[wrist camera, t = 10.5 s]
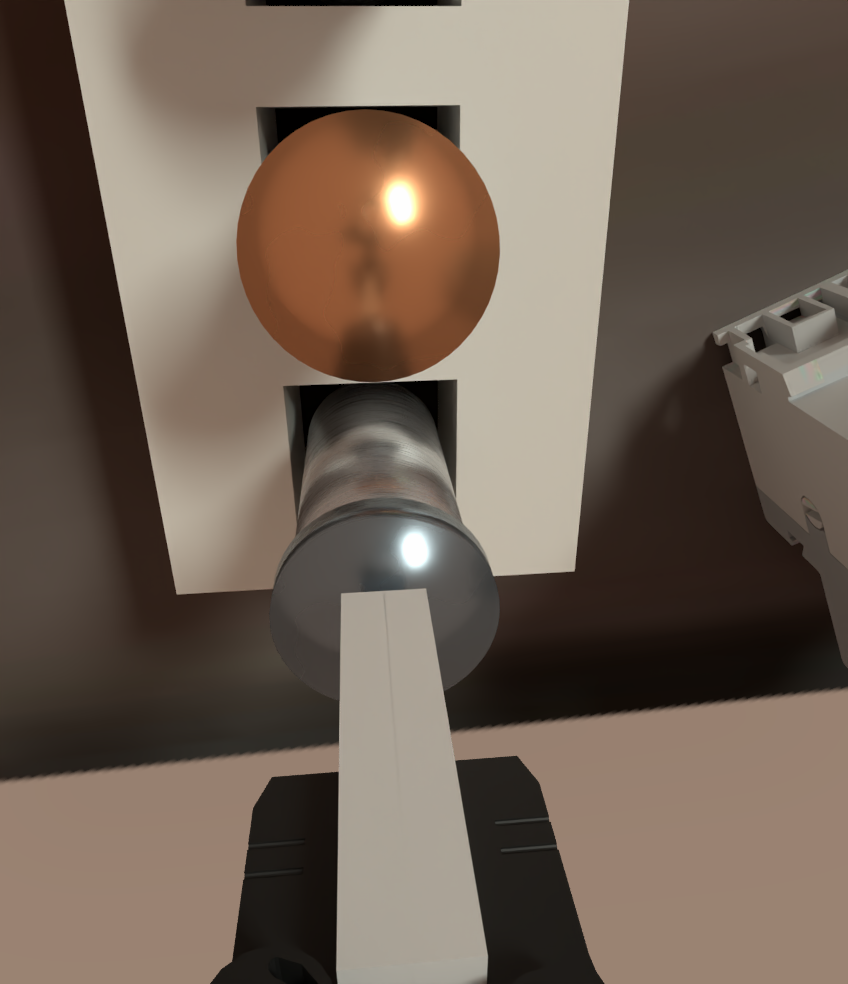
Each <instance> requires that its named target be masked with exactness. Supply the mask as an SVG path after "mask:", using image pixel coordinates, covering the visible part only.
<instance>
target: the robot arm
mask: <svg viewBox="0 0 848 984" xmlns="http://www.w3.org/2000/svg"><path fill="white" fill-rule="evenodd" d="M248 844H249V848H248V850H247V857H246V865H245V872H244V873H245V878H244V880H243V886H242V894H241V901H240V908H239V916H238V923H237V930H236V938H235V945H234V952H233V960H232V962H231V963H230V964H228V965H227V966H225V967H224V968H222V969H221V970H220V972H219V973H218V974H217V975H216V977H215V978H214V979H213V981H212V982H211V983H210V984H604V982H603V981H602V979H601V978H600V976H599V975H598V974H597V972H596V970H595V968H594V965H593V963H592V960H591V958H590V956H589V953H588V950H587V946H586V943H585V939H584V936H583V932H582V929H581V925H580V922H579V919H578V915H577V912H576V908H575V905H574V902H573V898H572V894H571V891H570V888H569V884H568V881H567V877H566V874H565V870H564V867H563V863H562V860H561V856H560V853H559V850H557V845H556V839H555V836H554V832H553V829H552V825H551V822H549V815H548V812H547V808H546V805H545V801H544V798H543V794H542V791H541V787H540V784H539V782H538V781H537V780H536V778H535V777H534V776H533V775H532V774H531V772H530V771H529V770H528V769H527V767H526V766H525V765H524V764H523V763H522V761H521V760H520V759H519V758H518V757H517V756H511V757H510V756H509V757H496V758H484V759H472V760H471V759H470V760H458V761H455V758H454V752H453V746H452V740H451V734H450V728H449V722H448V716H447V710H446V704H445V698H444V692H443V686H442V680H441V674H440V669H439V663H438V657H437V651H436V645H435V639H434V633H433V627H432V621H431V615H430V609H429V603H428V597H427V591H426V588H424V589H407V590H391V591H374V592H357V593H341V644H340V724H339V772H331V773H318V774H306V775H293V776H280V777H272V778H271V780H270V781H269V783H268V785H267V786H266V788H265V790H264V792H263V793H262V795H261V796H260V798H259V799H258V801H257V803H256V804H255V806H254V808H253V813H252V821H251V828H250V835H249V842H248Z"/></svg>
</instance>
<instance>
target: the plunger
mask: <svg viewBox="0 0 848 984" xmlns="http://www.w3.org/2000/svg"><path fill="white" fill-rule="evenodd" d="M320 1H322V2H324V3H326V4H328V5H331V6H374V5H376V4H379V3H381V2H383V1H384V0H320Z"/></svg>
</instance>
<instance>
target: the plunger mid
mask: <svg viewBox="0 0 848 984" xmlns="http://www.w3.org/2000/svg"><path fill="white" fill-rule="evenodd" d="M236 245H237V261H238V267H239V272H240V278H241V281H242V284H243V287H244V290H245V293H246V296H247V298H248V300H249V302H250V305H251V307H252V309H253V311H254V313H255V314H256V316H257V317H258V319H259V321H260V322H261V324H262V325H263V327H264V328H265V329H266V330H267V332H268V333H269V334H270V335H271V337H272V338H273V339H274V340H275V341H276V342H277V343H278V344H279V345H280V346H281V347H282V348H283V349H284V350H285V351H287V352H288V353H289V354H291V355H292V356H293V357H295V358H296V359H297V360H299V361H300V362H302V363H304V364H306V365H307V366H309V367H311V368H313V369H315V370H317V371H320V372H322V373H324V374H327V375H330V376H333V377H337V378H340V379H344V380H350V381H357V382H383V381H392V380H396V379H401V378H405V377H408V376H411V375H414V374H417V373H419V372H422V371H424V370H426V369H428V368H430V367H432V366H434V365H435V364H437V363H438V362H440V361H441V360H443V359H444V358H446V357H447V356H449V355H450V354H451V353H452V352H453V351H454V350H455V349H457V348H458V347H459V346H460V345H461V344H462V343H463V342H464V341H465V339H466V338H467V337H468V336H469V335H470V334H471V333H472V331H473V330H474V328H475V327H476V325H477V324H478V322H479V321H480V319H481V318H482V316H483V314H484V312H485V310H486V308H487V306H488V304H489V301H490V299H491V296H492V293H493V290H494V287H495V283H496V279H497V274H498V268H499V258H500V236H499V229H498V223H497V217H496V214H495V210H494V207H493V203H492V200H491V198H490V195H489V193H488V191H487V188H486V186H485V184H484V182H483V180H482V179H481V177H480V175H479V174H478V172H477V170H476V169H475V167H474V166H473V165H472V163H471V162H470V161H469V160H468V158H467V157H466V156H465V155H464V153H463V152H462V151H461V150H459V149H458V148H457V147H456V146H455V145H454V144H453V143H452V142H451V141H450V140H449V139H447V138H446V137H445V136H443V135H442V134H441V133H439V132H438V131H436V130H435V129H433V128H431V127H429V126H428V125H426V124H424V123H422V122H420V121H418V120H415V119H413V118H410V117H407V116H404V115H402V114H397V113H392V112H388V111H383V110H367V109H363V110H351V111H343V112H339V113H335V114H331V115H327V116H324V117H322V118H319V119H317V120H314V121H312V122H310V123H308V124H306V125H304V126H303V127H301V128H299V129H298V130H296V131H294V132H293V133H292V134H290V135H289V136H288V137H287V138H285V139H284V140H283V141H282V142H280V143H279V144H278V145H277V146H276V147H275V148H274V149H273V151H272V152H271V153H270V154H269V155H268V156H267V157H266V158H265V160H264V161H263V163H262V164H261V166H260V167H259V168H258V170H257V171H256V173H255V175H254V177H253V179H252V181H251V183H250V185H249V186H248V189H247V191H246V194H245V197H244V200H243V203H242V205H241V210H240V215H239V220H238V226H237V239H236Z"/></svg>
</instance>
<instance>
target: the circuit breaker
mask: <svg viewBox="0 0 848 984" xmlns="http://www.w3.org/2000/svg"><path fill="white" fill-rule="evenodd" d="M819 300H820V302H819ZM799 307H800V312H801V316H799V317H796V318H794V319H792V320H790V321H787V320H785V319H783V318H781V317H779V316H781V315H783V314H786V313H788V312H790V311H792V310H794V309H796V308H799ZM758 328H760V329H761V330H762V333H763V337H764V341H765V345H766V348H765V349H763V350H760V351H758V352H755V349H754V345H753V341H752V338H751V337H749V336H748V335H746V334H747V333H749V332H751V331H753V330H756V329H758ZM712 333H713V336H714V340H715V343H716V344H717V345H719V346H722V345H724V344H726V343H728V347H729V350H730V354H731V357H732V361H733V362H731V363H729V364H727V365H725V366H722V368H723V371H724V375H725V378H726V382H727V385H728V389H729V392H730V396H731V400H732V403H733V407H734V410H735V414H736V417H737V421H738V424H739V428H740V431H741V435H742V438H743V442H744V445H745V449H746V452H747V456H748V459H749V463H750V466H751V470H752V473H753V477H754V481H755V484H756V488H757V491H758V495H759V498H760V502H761V505H762V508H763V512H764V515H765V519H766V520H767V522H768V523H769V524H770V525H771V526H772V527H773V528H774V529H775V530H776V531H777V532H778V533H779V534H780V535H782V536H783V537H784V538H785V539H786V540H787V541H788V542H789V543H790V544H791V545H795V544H797V543H799V542H800V543H801V544H802V545H803V546H804V548H803V553H802V556H803V557H804V558H805V559H806V560H807V561H808V562H809V563H810V564H811V565H812V566H813V567H814V568H815V569H816V570H817V571H818V572H819V573H820V576H821V580H822V583H823V587H824V591H825V595H826V599H827V603H828V607H829V611H830V615H831V618H832V622H833V626H834V630H835V634H836V638H837V642H838V646H839V650H840V654H841V657H842V661H843V663H844V664H845V666H846V667H847V668H848V270H846V271H844V272H842V273H840V274H838V275H835V276H833V277H831V278H829V279H827V280H825V281H822V282H820V283H818V284H816V285H814V286H812V287H809V288H807V289H805V290H803V291H801V292H799V293H797V294H794V295H792V296H790V297H788V298H786V299H784V300H781V301H779V302H777V303H775V304H773V305H771V306H768V307H766V308H764V309H762V310H760V311H758V312H756V313H753V314H751V315H749V316H747V317H745V318H743V319H740V320H738V321H736V322H734V323H732V324H730V325H727V326H725V327H723V328H721V329H719V330H717V331H714V332H712Z"/></svg>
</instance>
